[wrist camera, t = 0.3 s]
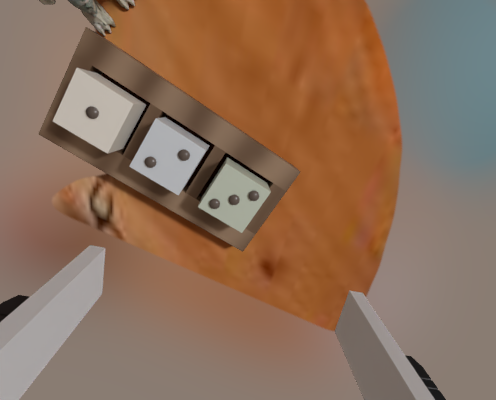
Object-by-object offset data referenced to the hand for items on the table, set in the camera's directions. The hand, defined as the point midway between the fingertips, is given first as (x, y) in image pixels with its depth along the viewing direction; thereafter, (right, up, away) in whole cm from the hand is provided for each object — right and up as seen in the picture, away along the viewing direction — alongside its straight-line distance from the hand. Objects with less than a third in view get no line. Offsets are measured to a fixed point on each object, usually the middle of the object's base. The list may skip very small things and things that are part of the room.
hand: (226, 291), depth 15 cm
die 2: (-8, +11, +19) cm, 23 cm away
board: (-8, +11, +21) cm, 25 cm away
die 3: (-1, +6, +21) cm, 22 cm away
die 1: (-15, +15, +17) cm, 27 cm away
